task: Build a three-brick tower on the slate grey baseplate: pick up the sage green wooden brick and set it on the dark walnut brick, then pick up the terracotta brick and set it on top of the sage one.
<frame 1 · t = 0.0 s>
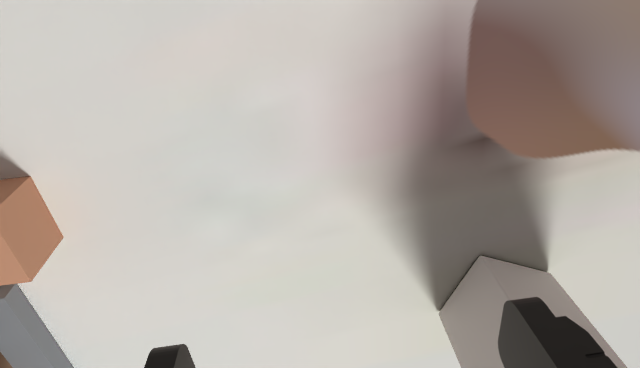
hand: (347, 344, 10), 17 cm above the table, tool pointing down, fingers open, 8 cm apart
milk carton: (491, 290, 35), on the table
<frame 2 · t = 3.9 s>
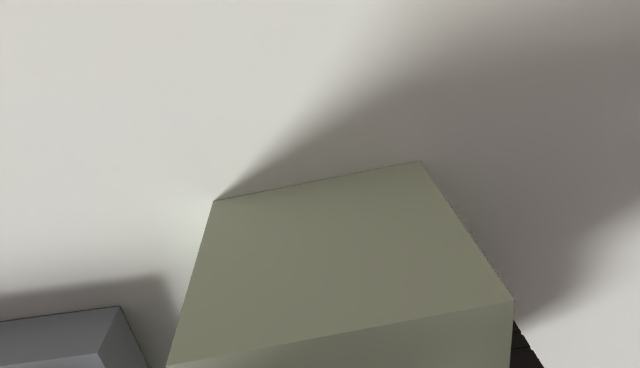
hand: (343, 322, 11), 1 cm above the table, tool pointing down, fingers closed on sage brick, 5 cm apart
sage brick: (341, 301, 12), on the table, touching gripper
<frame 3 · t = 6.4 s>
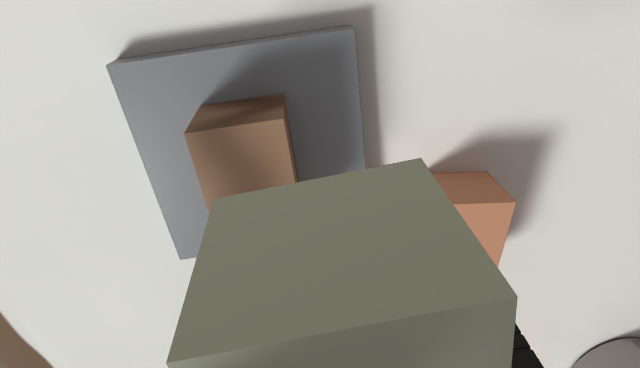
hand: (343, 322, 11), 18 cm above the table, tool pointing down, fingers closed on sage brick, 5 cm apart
walnut brick: (255, 159, 26), point 1 cm above the table, touching baseplate
sage brick: (342, 299, 12), point 17 cm above the table, touching gripper
baseplate: (257, 149, 27), on the table
terracotta brick: (443, 217, 31), on the table
when the fingers open (8 cm above the table, at t = 8.9 s): sage brick drops 1 cm, resting on walnut brick.
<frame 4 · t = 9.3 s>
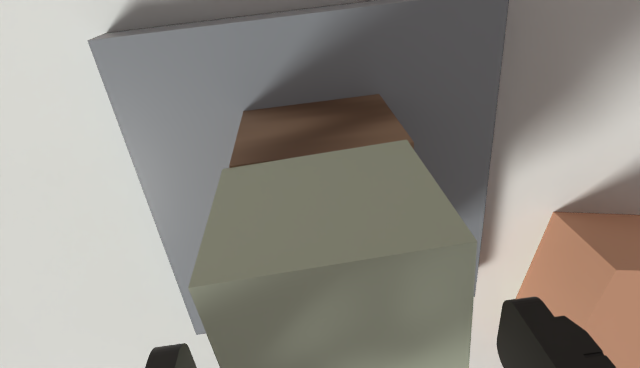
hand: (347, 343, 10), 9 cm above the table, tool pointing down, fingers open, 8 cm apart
walnut brick: (322, 195, 17), point 1 cm above the table, touching baseplate, sage brick
sage brick: (332, 267, 13), point 6 cm above the table, touching walnut brick
baseplate: (319, 178, 18), on the table
terracotta brick: (566, 272, 22), on the table
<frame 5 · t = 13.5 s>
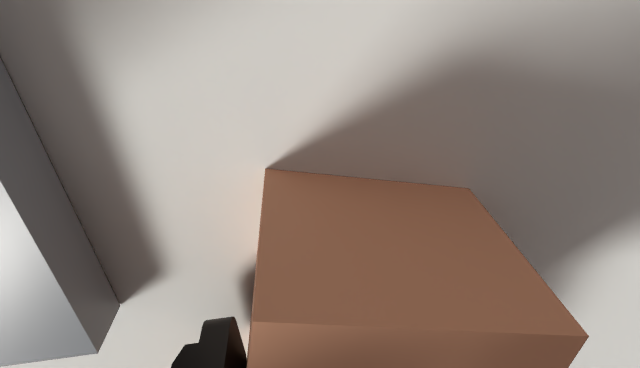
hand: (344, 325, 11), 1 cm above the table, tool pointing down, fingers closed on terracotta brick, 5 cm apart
terracotta brick: (341, 302, 12), on the table, touching gripper
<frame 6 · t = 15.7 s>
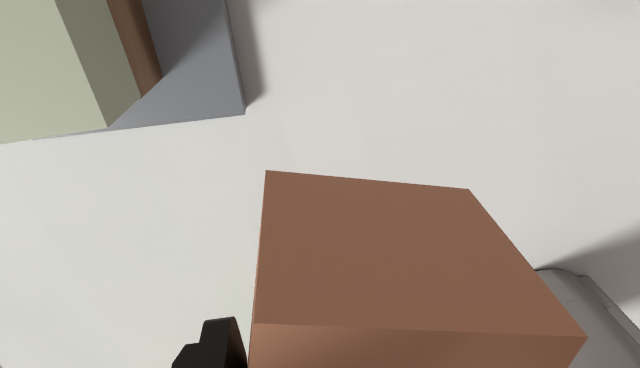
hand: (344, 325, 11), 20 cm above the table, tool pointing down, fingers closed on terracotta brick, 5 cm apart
walnut brick: (99, 13, 23), point 1 cm above the table, touching baseplate, sage brick
sage brick: (60, 23, 19), point 6 cm above the table, touching walnut brick
baseplate: (109, 10, 25), on the table
terracotta brick: (342, 302, 12), point 19 cm above the table, touching gripper
when the fingers open (13 cm above the table, at t = 18.3 s): terracotta brick drops 1 cm, resting on sage brick.
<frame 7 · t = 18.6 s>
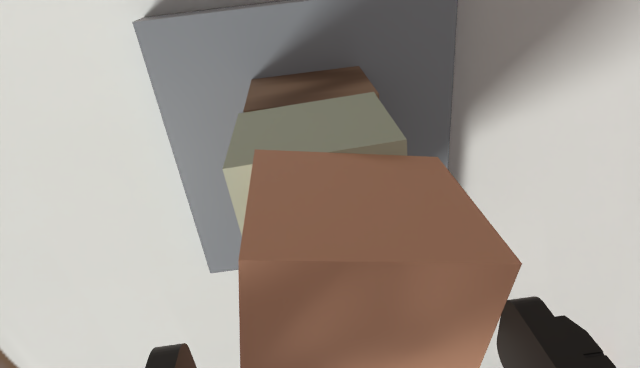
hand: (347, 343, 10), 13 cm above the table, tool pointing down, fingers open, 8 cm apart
walnut brick: (314, 151, 21), point 1 cm above the table, touching baseplate, sage brick
sage brick: (321, 195, 17), point 6 cm above the table, touching terracotta brick, walnut brick
baseplate: (312, 139, 22), on the table
terracotta brick: (334, 268, 13), point 10 cm above the table, touching sage brick
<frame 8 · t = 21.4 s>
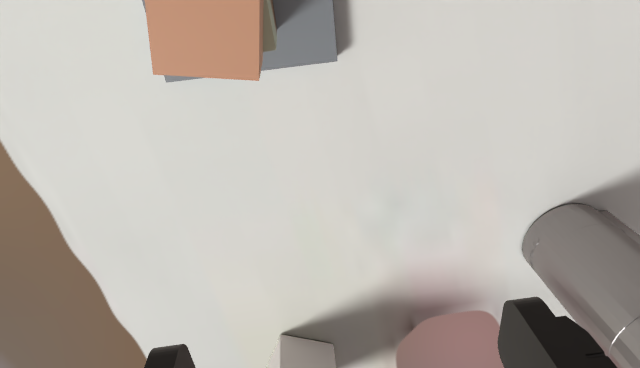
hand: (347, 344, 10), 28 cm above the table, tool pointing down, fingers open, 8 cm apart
milk carton: (298, 355, 52), on the table
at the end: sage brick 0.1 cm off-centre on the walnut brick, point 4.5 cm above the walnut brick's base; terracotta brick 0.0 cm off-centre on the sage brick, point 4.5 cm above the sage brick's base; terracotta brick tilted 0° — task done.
